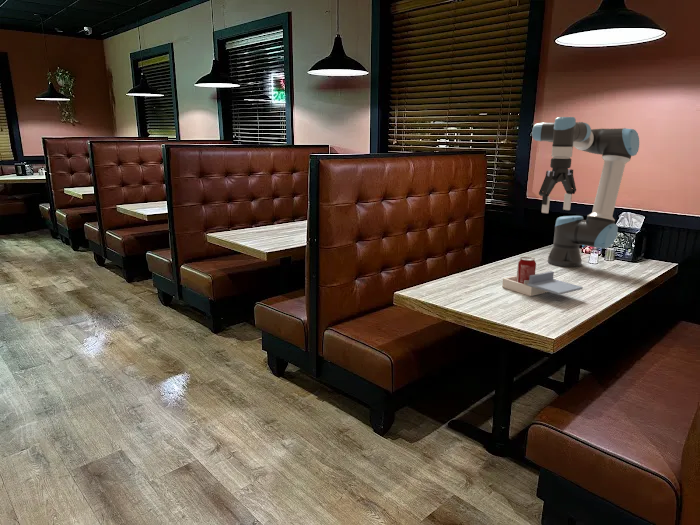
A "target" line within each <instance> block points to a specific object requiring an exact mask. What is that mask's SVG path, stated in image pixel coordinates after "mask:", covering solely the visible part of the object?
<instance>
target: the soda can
mask: <svg viewBox="0 0 700 525" xmlns="http://www.w3.org/2000/svg"><path fill="white" fill-rule="evenodd" d="M536 267H537V262H536V261H535V258H534V257H531V256H520V258H519V260H518V261H517V269H516V270H517V271H516V273H517V274H516V276H517V281H516V282H519V283H522V284H525V285H527V284H528V283H529V277H530V275H535V274H536V269H537V268H536ZM528 286H529V285H528Z"/></svg>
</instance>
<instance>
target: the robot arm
mask: <svg viewBox="0 0 700 525" xmlns="http://www.w3.org/2000/svg"><path fill="white" fill-rule="evenodd" d="M531 137H532V139H533V140H534V141H536V142H548V143H552V146H551V147H552V148H551V156H550V157H551V159H550V168H551V170H546V171H545V175H544V176H545V177H544V180H543V182H542V184H541V186H540V189H539V191H538V195H539V196H540V197H542V199H541V213H542V214H549V210H550V200H551V196H549V195H550V194H551V193H552V191H553V189H554V188H555V187H556V184H558V183H561V184H562V186H563V189H564V191H565V193H564V196H563V207H562V210H563V211H564V210H565V211H570V210H571V204H572V198H573V195H575V193H576V192H577V188H576V187H577V186H576V182H575V176H574V169H571V167H572V161H573V160H572V157H573V149H574V148H575V149H577V150H578V151H582V152H585V153H590V154H594V155H601V158H602V159H603V165H602V170H601V175H600V178H599V181H598V182H599V183H598V186H597V190H596V195H595V198H594V203H593V206H592V212H591V213H589V214H587V216H586V219H584V216H583V215H563V216H559V217H557V218H556V220H555V225H554V236H553V246H552V247H551V251H550V253H549V255H548V256H547V263H548V264H550V265H554V266H558V267H566V268H576V267H577V268H578V267H581V266H582V255H581V252H580V246H586V247H590V248H591V247H592V248H596V249H608V248H610V247H611V246H612V245H613V244H614V242H615V240H616V239H617V236H618V232H619V230H618V229H619V227H618V225H617V224H616V219H615V218H614V217H613V215H614V211H615V206H616V202H617V199H618V194H619V190H620V187H621V183H622V179H623V175H624V172H625V167H626V164H627V163H629V162H630V161H631V158H632V157H634V156H636V155H637V154H638V153H639V149H640V137H639V133H638V132H637V130H636V129H635V128H626V127H624V128H623V127H622V128H593V129H592V127H591V126H590V124H588V123H587V122H583V121H577V122H576V117H574V116H559V117H556V118H555V119H554V122H538V123H535V124H534V125H533V127H532V131H531Z"/></svg>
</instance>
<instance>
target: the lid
mask: <svg viewBox="0 0 700 525" xmlns="http://www.w3.org/2000/svg"><path fill="white" fill-rule="evenodd" d="M554 274H555V272H554V271H552V270H551V271H546V272H541V273H535V275H530V277H529V283H528V284H527V285H529V286H532V287H535V288H538V289H542V290H545V291H548V292H547V293H551V294H555V295H558V296H559V295H560V296H561V295H564V294H568V293H571V292H576V291H580V290H583V288H584V287H583V286H581V285H576V284H573V283H569V282H567V281H562V280H559V279H557V278H556V279H554Z"/></svg>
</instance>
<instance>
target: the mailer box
mask: <svg viewBox="0 0 700 525" xmlns="http://www.w3.org/2000/svg"><path fill="white" fill-rule="evenodd" d="M516 281H517V275H513V276H509V277H504V278H502V288H504V289H508V290H510V291H514V292H518V293H520V294H523V295H526V296H529V297H532V296H537V295H540V294H541V295H542V294H545V292H546V293H549V292H548V291H545V290H542V289H538V288H535V287H532V286H528V285H525V284H522V283H519V282H516Z"/></svg>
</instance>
